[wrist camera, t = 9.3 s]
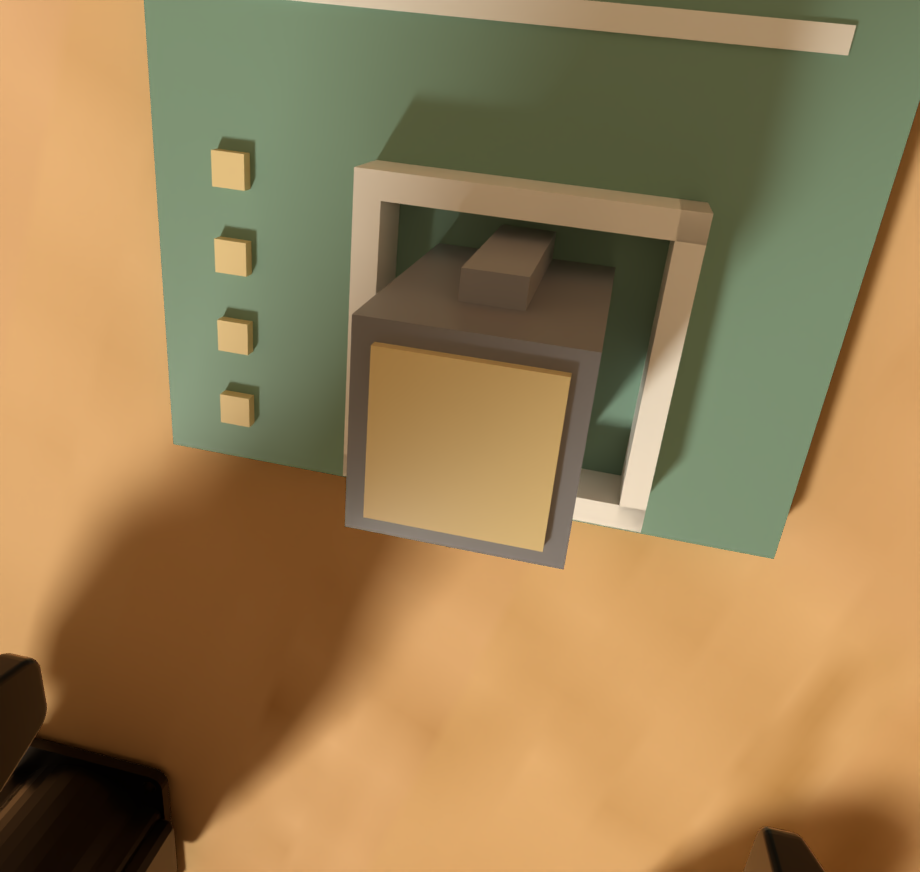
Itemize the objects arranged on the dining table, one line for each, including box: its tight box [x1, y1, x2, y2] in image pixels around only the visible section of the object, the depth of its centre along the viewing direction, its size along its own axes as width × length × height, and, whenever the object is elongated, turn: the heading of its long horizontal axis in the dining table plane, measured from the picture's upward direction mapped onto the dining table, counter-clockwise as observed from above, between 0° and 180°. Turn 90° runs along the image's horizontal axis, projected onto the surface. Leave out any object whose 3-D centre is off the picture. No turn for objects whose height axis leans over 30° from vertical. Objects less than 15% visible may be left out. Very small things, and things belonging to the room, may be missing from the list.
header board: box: [144, 0, 920, 559], centre depth 18 cm, size 16×13×3 cm
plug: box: [345, 224, 616, 569], centre depth 16 cm, size 4×5×6 cm
